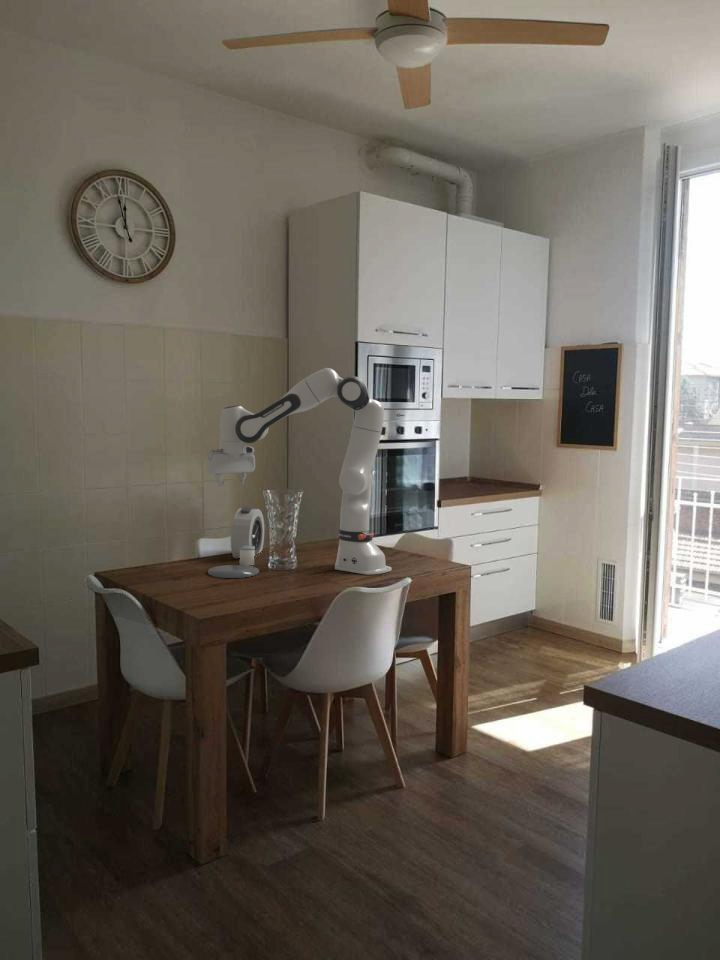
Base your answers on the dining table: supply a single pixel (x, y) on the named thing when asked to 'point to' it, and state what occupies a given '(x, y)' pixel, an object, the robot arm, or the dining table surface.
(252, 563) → the cup
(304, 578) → the dining table surface
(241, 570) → the disc
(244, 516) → the alarm clock
